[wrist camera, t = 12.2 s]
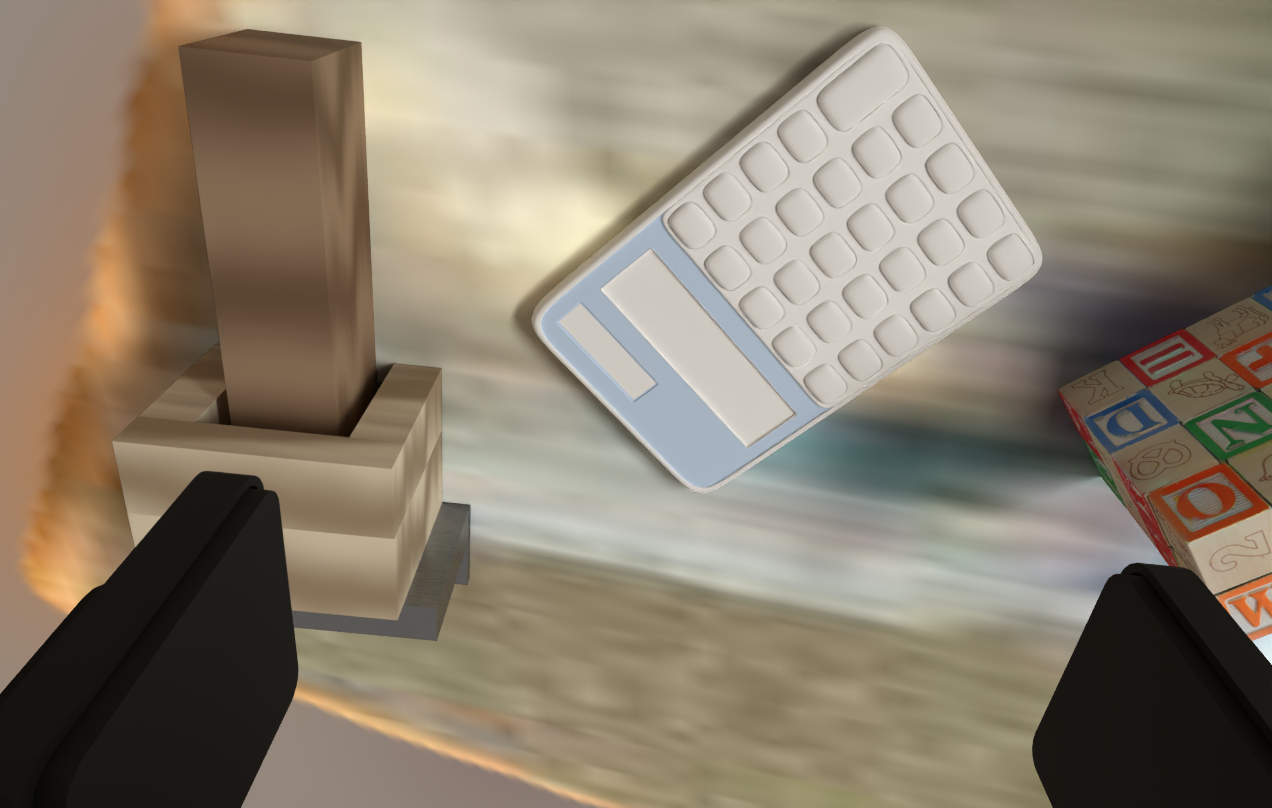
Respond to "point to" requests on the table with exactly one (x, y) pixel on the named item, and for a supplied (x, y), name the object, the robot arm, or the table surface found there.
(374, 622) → the grey piece
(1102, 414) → the stack of blocks
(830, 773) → the table surface
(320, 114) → the walnut bar
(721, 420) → the calculator
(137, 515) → the maple block
